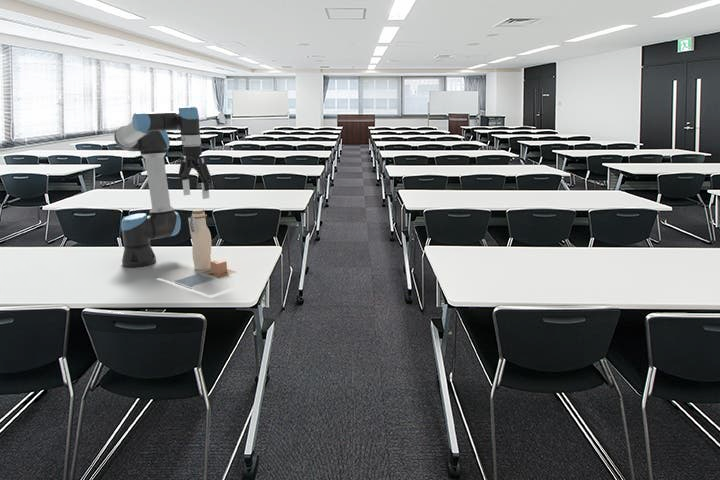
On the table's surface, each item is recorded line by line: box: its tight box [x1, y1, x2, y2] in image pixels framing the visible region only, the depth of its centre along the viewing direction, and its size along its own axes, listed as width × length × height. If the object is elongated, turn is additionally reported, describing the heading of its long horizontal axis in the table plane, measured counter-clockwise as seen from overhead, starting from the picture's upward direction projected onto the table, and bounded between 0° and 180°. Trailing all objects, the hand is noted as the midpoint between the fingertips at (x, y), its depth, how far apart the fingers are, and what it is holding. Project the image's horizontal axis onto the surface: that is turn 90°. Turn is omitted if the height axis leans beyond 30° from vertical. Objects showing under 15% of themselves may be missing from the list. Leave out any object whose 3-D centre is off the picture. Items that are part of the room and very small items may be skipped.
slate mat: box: [174, 273, 215, 290], centre depth 225 cm, size 12×12×1 cm
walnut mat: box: [201, 268, 237, 278], centre depth 235 cm, size 12×10×1 cm
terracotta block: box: [210, 258, 228, 275], centre depth 234 cm, size 5×5×5 cm
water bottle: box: [187, 208, 212, 271], centre depth 238 cm, size 10×9×28 cm
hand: (196, 196), depth 219 cm, fingers open, 13 cm apart
